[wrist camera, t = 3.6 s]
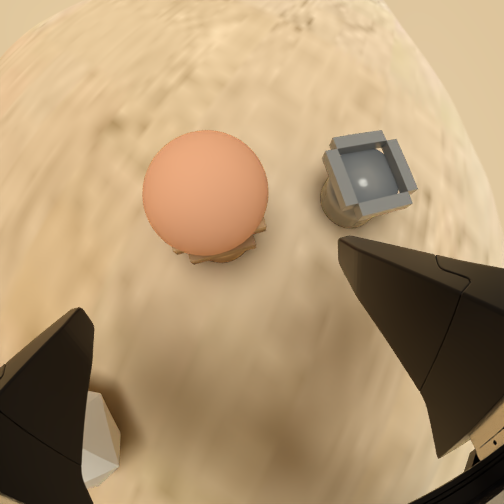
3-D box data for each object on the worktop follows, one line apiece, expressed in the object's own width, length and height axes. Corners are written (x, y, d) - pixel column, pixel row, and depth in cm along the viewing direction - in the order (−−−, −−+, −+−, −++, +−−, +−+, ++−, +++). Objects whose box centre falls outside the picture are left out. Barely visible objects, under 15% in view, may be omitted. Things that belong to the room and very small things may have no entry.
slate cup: (387, 224, 23) (422, 201, 17) (327, 240, 23) (350, 219, 17) (365, 164, 24) (391, 128, 18) (306, 177, 24) (320, 139, 18)
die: (120, 360, 22) (-3, 346, 14) (168, 462, 17) (22, 479, 9) (89, 410, 24) (-8, 405, 16) (125, 494, 18) (16, 505, 11)
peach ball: (284, 192, 18) (298, 141, 12) (231, 284, 17) (219, 271, 11) (197, 148, 18) (177, 88, 13) (143, 231, 18) (97, 197, 12)
